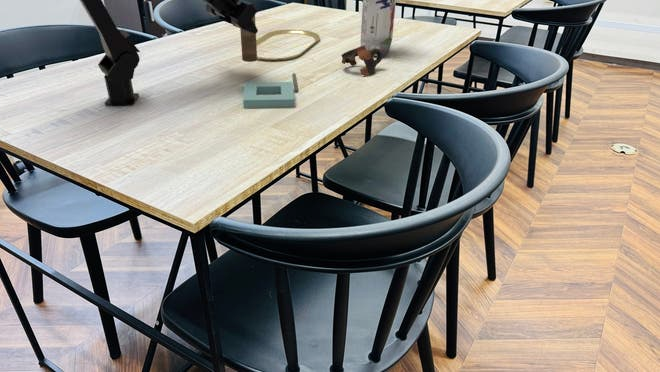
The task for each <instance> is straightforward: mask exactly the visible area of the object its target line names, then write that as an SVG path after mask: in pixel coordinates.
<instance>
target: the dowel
mask: <svg viewBox="0 0 660 372" xmlns="http://www.w3.org/2000/svg"><path fill="white" fill-rule="evenodd" d="M252 20H253V22H254V24H255V26H256V25H257V24H256V15H255V16H254V17H253V18H252ZM256 27H257V26H256ZM239 31H240V45H241V60H242V62H246V63H247V62H248V63H253V62H257V61H258V60H257V57H258V50H257V49H258V46H257V45H256V40H257V33H256V34H255V33H252V32H249V31H246V30H243V29H240V28H239Z"/></svg>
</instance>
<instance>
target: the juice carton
mask: <svg viewBox="0 0 660 372" xmlns="http://www.w3.org/2000/svg"><path fill="white" fill-rule="evenodd" d="M396 2H397V0H362V10H361V11H362V12H361V27H360V28H361V29H360V46H365V48H366V49H367V50H373V49H380V50H381V52H382V54H383V58H385V57H386V54H387V53H388V52H389V51H390V49H391V45H392V43H393V42H392V41H393V35H394V34H393V33H394V26H395V25H394V24H395V13H396V5H397V4H396ZM374 56H377V54H374Z"/></svg>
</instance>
